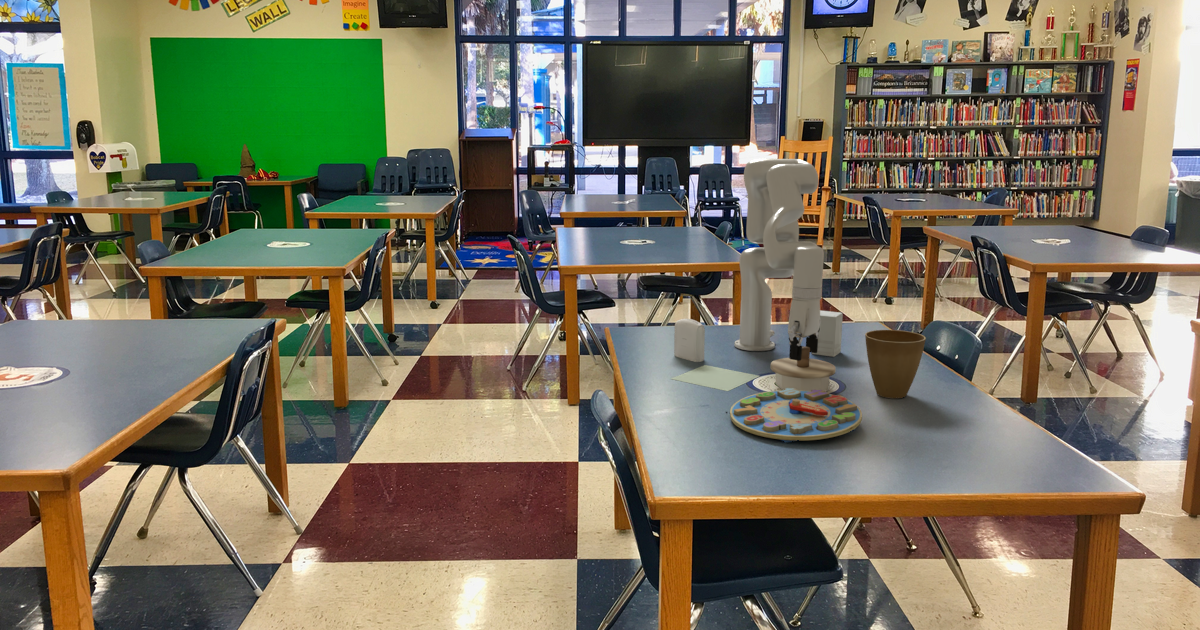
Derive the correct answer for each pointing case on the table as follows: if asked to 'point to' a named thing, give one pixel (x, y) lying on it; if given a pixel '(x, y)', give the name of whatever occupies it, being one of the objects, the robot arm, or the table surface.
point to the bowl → (802, 383)
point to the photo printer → (689, 340)
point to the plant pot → (893, 360)
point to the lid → (803, 367)
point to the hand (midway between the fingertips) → (803, 355)
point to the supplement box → (830, 333)
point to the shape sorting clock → (796, 414)
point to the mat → (715, 377)
